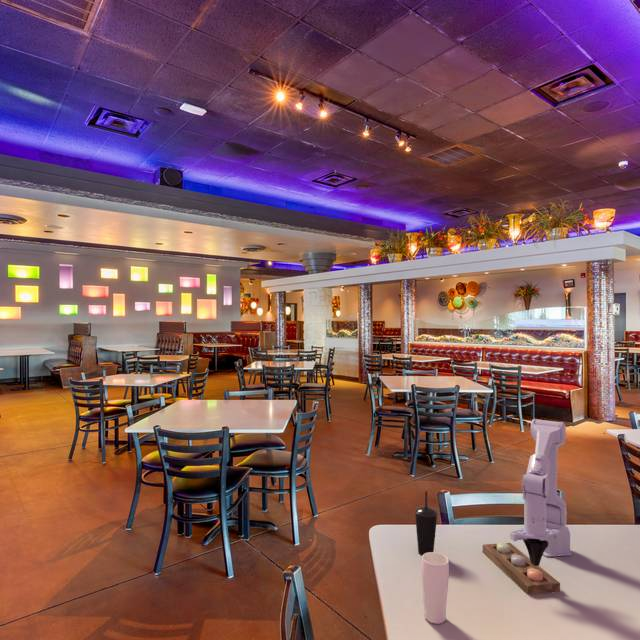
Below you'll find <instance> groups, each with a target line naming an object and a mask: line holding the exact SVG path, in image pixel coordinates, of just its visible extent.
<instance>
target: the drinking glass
mask: <svg viewBox="0 0 640 640" xmlns="http://www.w3.org/2000/svg"><path fill="white" fill-rule="evenodd" d="M449 579H450V562H449V558H448V557H447V556H446V555H444V554H442V553H439V552H436V551H434V552H428V553H425V554H423V556H422V555H421V584H422V597H423V598H422V599H423V617H424V618H425V619H427V621H428V622H429V621H430V622H429V623H431V624H434V623H435V625H439V624H440V623H441V624H443V623H444V622H445V620H446V617H447V615H446V613H447V599H448V592H449V591H448V590H449V583H450V582H449V581H450V580H449Z"/></svg>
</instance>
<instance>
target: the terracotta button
mask: <svg viewBox="0 0 640 640" xmlns="http://www.w3.org/2000/svg"><path fill="white" fill-rule="evenodd" d="M527 578H528V579H530V580H531V581H532V582H539V581H543V573H542V572H541V571H540V570H538V569H534V568H529V569H528V570H527Z"/></svg>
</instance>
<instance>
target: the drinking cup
mask: <svg viewBox="0 0 640 640" xmlns="http://www.w3.org/2000/svg"><path fill="white" fill-rule="evenodd" d="M424 494H425V495H424V505H421V506H417V507H415V508H414V509H413V510H414V511H413V513H414V515H415V517H414V518H415V526H416V527H415V528H416V541H417V552H418V554H419V555H420V556H421V557H422V556H423V554H425V553H428V552H435V551H434V549H435V541H436V529H437V520H438V515H439V511H438V510H437V509H435V508H433V507H431V506H428V491H427V490H425V492H424Z"/></svg>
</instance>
